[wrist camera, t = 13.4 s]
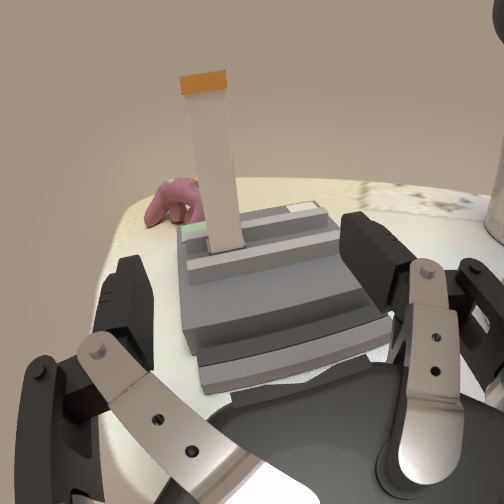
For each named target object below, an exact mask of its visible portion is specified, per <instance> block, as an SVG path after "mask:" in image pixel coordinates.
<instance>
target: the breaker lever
mask: <svg viewBox="0 0 504 504" xmlns="http://www.w3.org/2000/svg"><path fill="white" fill-rule="evenodd" d="M179 78H180V85H181V92H182V95H184V97H185V104H186V110H187V117H188V123H189V130H190V136H191V142H192V148H193V154H194V160H195V166H196V172H197V178H198V183H199V189H200V195H201V200H202V205H203V211H204V216H205V221H206V227H207V232H208V237H209V239H206V242H207V248H208V253H209V256H213V255H218V254H223V253H228V252H232V251H237V250H242V249H247V248H246V243H245V241H244V238H243V236H242V230H241V222H240V214H239V206H238V198H237V189H236V181H235V173H234V165H233V156H232V148H231V139H230V132H229V122H228V113H227V105H226V96H225V88H227V80H226V72H225V70H221V71H213V72H207V73H200V74H194V75H188V76H182V77H179Z"/></svg>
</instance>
